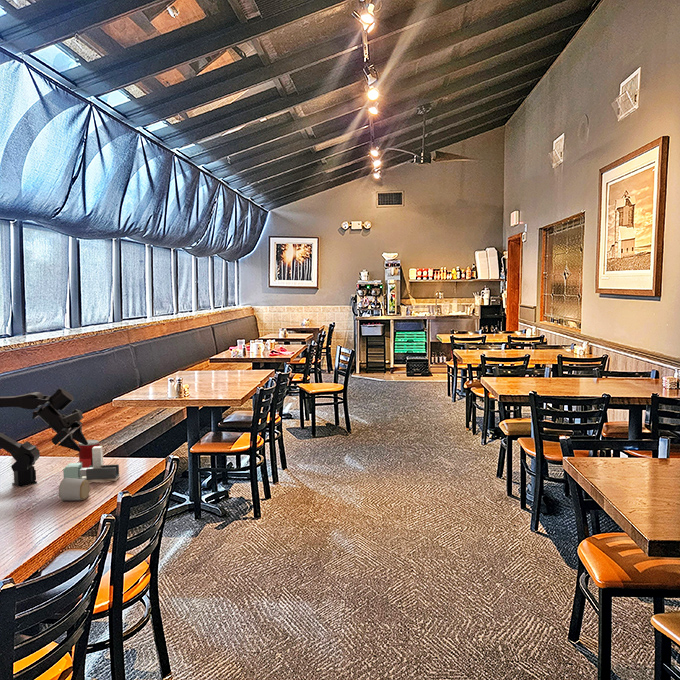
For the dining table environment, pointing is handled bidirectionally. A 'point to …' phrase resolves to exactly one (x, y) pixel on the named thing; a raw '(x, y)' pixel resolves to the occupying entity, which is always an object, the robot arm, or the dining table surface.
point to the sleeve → (103, 472)
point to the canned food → (87, 453)
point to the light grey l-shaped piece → (97, 460)
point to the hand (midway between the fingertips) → (83, 447)
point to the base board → (99, 479)
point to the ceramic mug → (73, 489)
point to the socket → (72, 470)
